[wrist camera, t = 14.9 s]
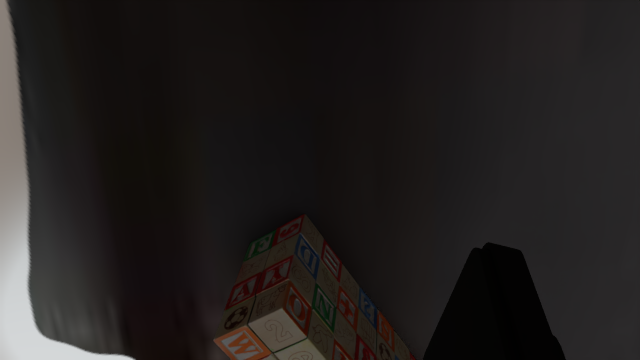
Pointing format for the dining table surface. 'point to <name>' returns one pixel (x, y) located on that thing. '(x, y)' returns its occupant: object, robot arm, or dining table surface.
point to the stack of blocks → (302, 305)
